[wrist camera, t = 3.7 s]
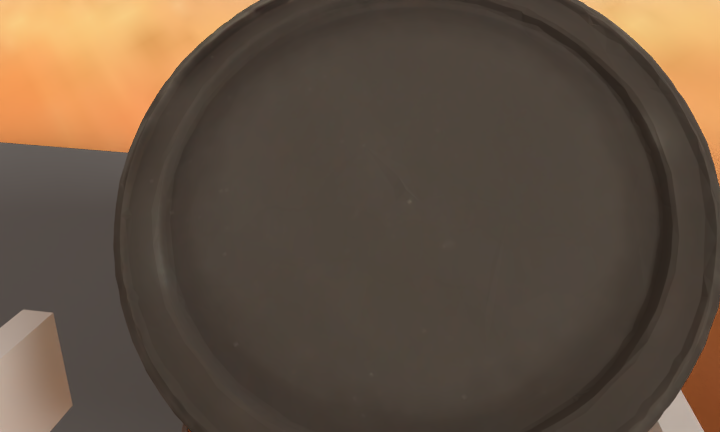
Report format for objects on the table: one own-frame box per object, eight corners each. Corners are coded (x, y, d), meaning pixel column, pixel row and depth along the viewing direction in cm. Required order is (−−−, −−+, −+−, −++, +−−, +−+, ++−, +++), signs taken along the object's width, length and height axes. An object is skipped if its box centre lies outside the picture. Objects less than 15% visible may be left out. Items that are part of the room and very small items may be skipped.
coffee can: (592, 303, 23) (838, 113, 10) (444, 540, 20) (506, 719, 7) (379, 168, 26) (347, -118, 13) (227, 361, 23) (-13, 254, 10)
